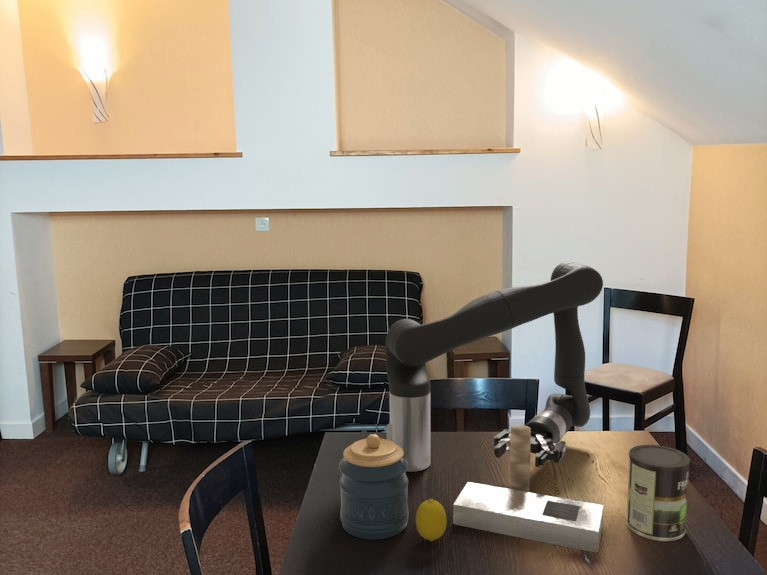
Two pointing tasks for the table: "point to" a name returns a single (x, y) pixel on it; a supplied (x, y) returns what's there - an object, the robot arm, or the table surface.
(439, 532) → the lemon
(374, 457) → the canister
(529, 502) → the block
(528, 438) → the peg
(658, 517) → the coffee can
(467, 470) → the table surface
